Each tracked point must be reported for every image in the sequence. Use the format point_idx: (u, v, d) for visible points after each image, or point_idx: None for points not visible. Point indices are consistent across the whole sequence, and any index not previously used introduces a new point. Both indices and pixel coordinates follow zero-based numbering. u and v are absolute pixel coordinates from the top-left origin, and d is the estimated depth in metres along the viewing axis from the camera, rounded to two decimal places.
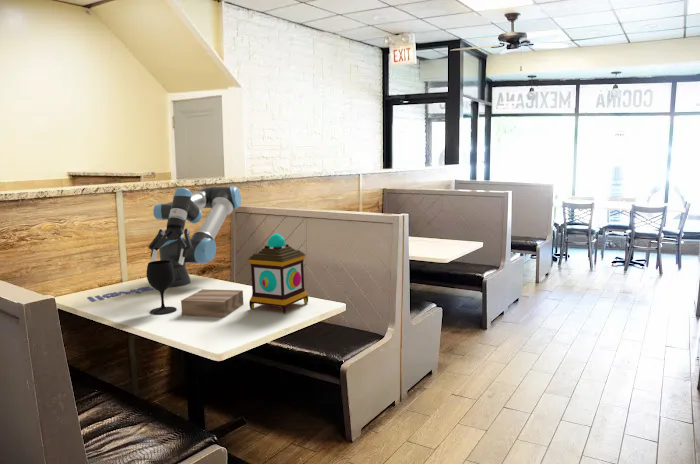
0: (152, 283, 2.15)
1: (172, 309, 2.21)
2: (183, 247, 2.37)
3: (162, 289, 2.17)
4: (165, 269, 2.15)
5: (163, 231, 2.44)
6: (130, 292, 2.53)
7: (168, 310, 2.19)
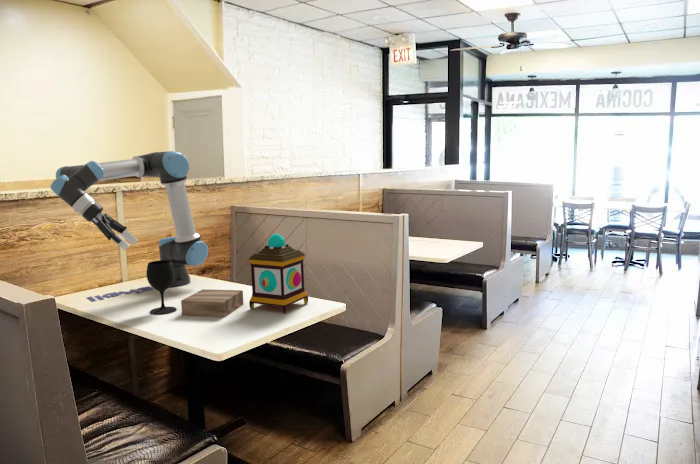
0: (152, 283, 2.15)
1: (172, 309, 2.21)
2: None
3: (162, 289, 2.17)
4: (165, 269, 2.15)
5: None
6: (130, 292, 2.53)
7: (168, 310, 2.19)
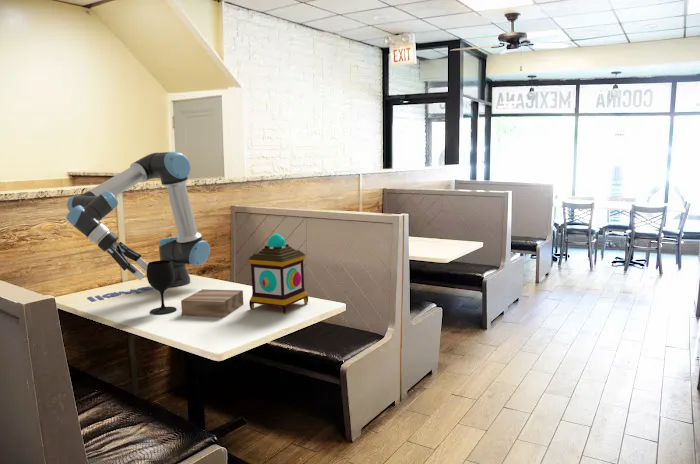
0: (152, 283, 2.15)
1: (172, 309, 2.21)
2: None
3: (162, 289, 2.17)
4: (166, 269, 2.15)
5: None
6: (130, 292, 2.53)
7: (168, 310, 2.19)
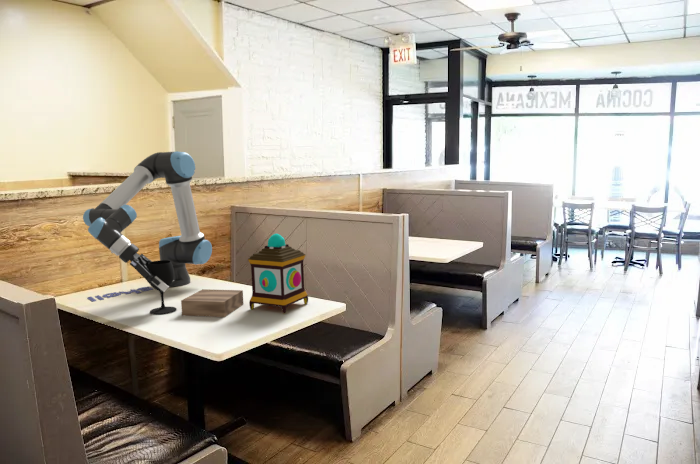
0: (152, 283, 2.15)
1: (172, 309, 2.21)
2: None
3: None
4: (165, 269, 2.15)
5: None
6: (130, 292, 2.53)
7: (168, 310, 2.19)
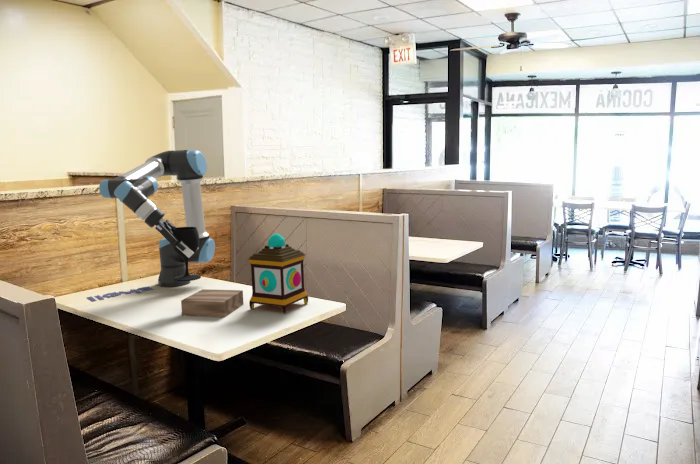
0: (177, 249, 2.11)
1: (196, 276, 2.17)
2: None
3: None
4: (191, 234, 2.11)
5: None
6: (130, 292, 2.53)
7: (192, 277, 2.15)
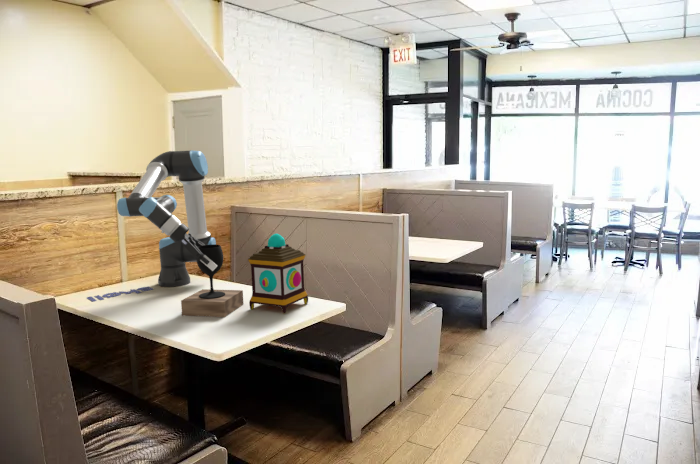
0: (202, 267, 2.13)
1: (221, 293, 2.19)
2: None
3: (212, 273, 2.16)
4: (216, 252, 2.14)
5: None
6: (130, 292, 2.53)
7: (217, 294, 2.17)
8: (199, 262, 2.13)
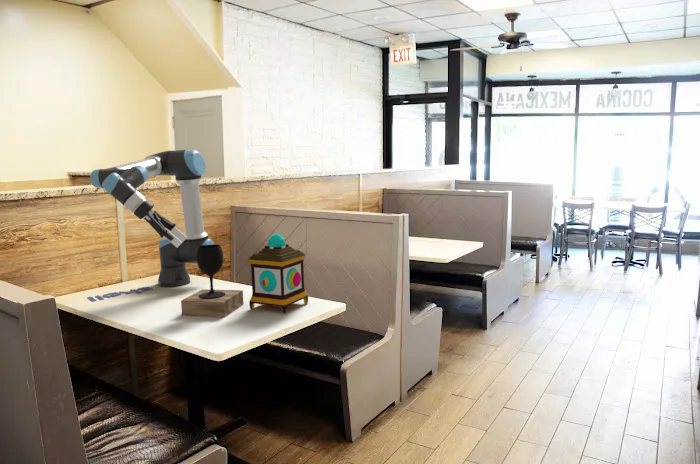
0: (202, 267, 2.13)
1: (221, 293, 2.19)
2: None
3: (212, 273, 2.16)
4: (216, 252, 2.14)
5: None
6: (130, 292, 2.53)
7: (217, 294, 2.17)
8: (199, 262, 2.13)
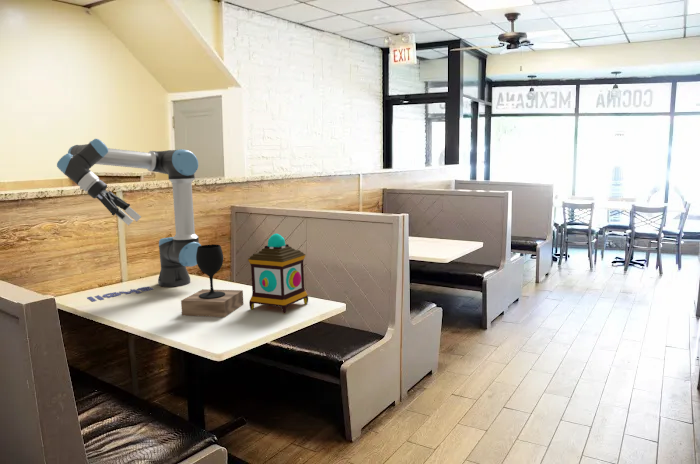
0: (202, 267, 2.13)
1: (221, 293, 2.19)
2: None
3: (212, 273, 2.16)
4: (216, 252, 2.13)
5: None
6: (130, 292, 2.53)
7: (217, 294, 2.17)
8: (199, 262, 2.13)
